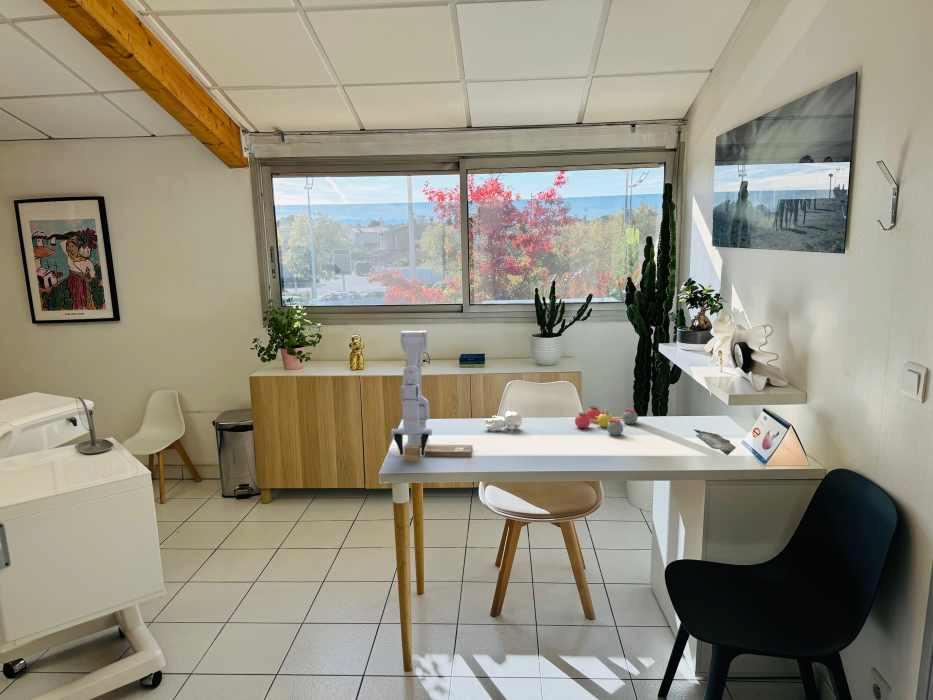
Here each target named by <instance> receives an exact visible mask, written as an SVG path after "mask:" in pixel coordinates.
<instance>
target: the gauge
mask: <svg viewBox="0 0 933 700" xmlns="http://www.w3.org/2000/svg"><path fill="white" fill-rule="evenodd" d="M420 447H421V446H420V444H406V443H405V446H403V455H404V462H419V461H420V458H421V449H420Z"/></svg>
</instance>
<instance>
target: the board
mask: <svg viewBox="0 0 933 700" xmlns="http://www.w3.org/2000/svg"><path fill="white" fill-rule="evenodd" d="M472 454H473V444H427V445H426V446H425V450H424V457H472Z"/></svg>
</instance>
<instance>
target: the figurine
mask: <svg viewBox="0 0 933 700" xmlns="http://www.w3.org/2000/svg"><path fill="white" fill-rule="evenodd" d="M484 420H485V421H484V422H485V424H486V430H487V431H488V432H489V431H493V430H494V432H499V431H501V430H502V429H503V428H504V429H509V430H510V432H511V433H513V431H515V429H519V428H520V427H521V426H522V425H523V417H522V415H521V413H519V412H517V411H510V410H508V409H507V410H506V412H505V414H504V416H498V415H494V414H493V415H492V416H491V418H485V419H484Z"/></svg>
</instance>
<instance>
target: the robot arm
mask: <svg viewBox="0 0 933 700" xmlns="http://www.w3.org/2000/svg"><path fill="white" fill-rule="evenodd" d="M400 346H401V349H402V350H403V352H404V353H406V366H405V368H403V376H402V378H403V379H402V386H400V399H401V406H402V423H403V425H402V426H403V427H399V428H392V429H391V430H390V436H393V440H394V442H395V443H396V445H397V448H398V450H399V455H400V456H402V455H404V445H403V444H404V443H403V442H404V441H403V439H404V437H403V436H407V440H406V443H405V445H406V444H420V447H421V449H420V456H425V449H426V447H427V445H428V442H429V440H430V438H429V436H432V435H433V428H427V421H428V420H429V419H430V404H429V403H430V402H429V400H428V399H427V398H426V397H424V396H423V394H422V357H423V354H425V353H427V350H428V332H427V331H426V330H407V331H406V330H402V331H401V332H400Z"/></svg>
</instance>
